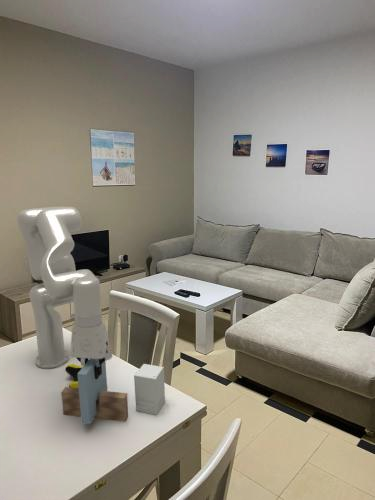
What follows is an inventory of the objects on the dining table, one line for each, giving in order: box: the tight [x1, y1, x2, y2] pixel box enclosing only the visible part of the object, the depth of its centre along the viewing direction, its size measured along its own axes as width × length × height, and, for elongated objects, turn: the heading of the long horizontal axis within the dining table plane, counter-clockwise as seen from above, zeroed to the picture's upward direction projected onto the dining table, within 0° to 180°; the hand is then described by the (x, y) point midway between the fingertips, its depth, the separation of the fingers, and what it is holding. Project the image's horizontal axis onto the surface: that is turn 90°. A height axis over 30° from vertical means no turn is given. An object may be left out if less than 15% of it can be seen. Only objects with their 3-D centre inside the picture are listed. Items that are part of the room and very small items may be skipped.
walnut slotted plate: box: [61, 386, 129, 422], centre depth 116 cm, size 20×2×8 cm, turn 81°
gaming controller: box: [64, 363, 83, 388], centre depth 133 cm, size 15×6×10 cm
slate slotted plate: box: [78, 359, 108, 425], centre depth 115 cm, size 14×2×16 cm, turn 171°
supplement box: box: [133, 363, 166, 416], centre depth 120 cm, size 7×7×13 cm
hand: (92, 375), depth 114 cm, fingers closed on slate slotted plate, 2 cm apart
